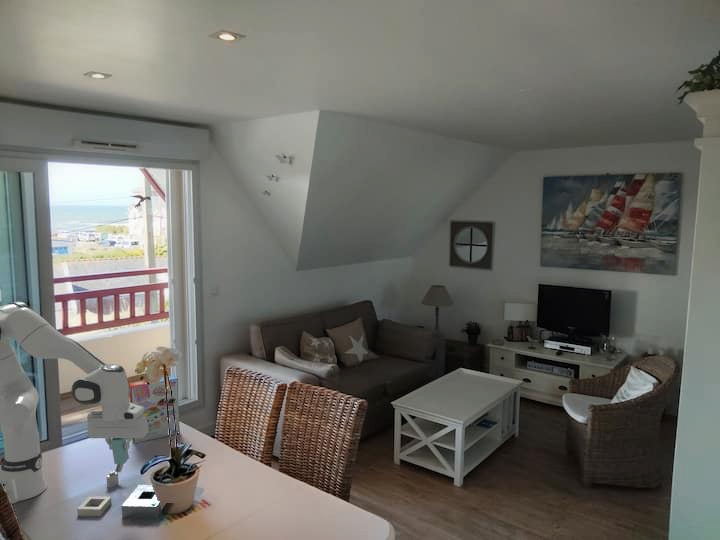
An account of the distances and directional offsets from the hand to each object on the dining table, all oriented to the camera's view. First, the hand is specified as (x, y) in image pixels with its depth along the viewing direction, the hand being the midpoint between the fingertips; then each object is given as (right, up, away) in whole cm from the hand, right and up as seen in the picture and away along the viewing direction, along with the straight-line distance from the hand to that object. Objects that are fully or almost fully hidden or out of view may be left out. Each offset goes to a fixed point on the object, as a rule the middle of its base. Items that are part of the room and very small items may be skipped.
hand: (119, 448), depth 184 cm
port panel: (+8, -22, +4) cm, 24 cm away
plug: (0, -5, +1) cm, 5 cm away
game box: (-11, -16, +62) cm, 65 cm away
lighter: (-11, -20, +20) cm, 31 cm away
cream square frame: (-10, -22, +3) cm, 25 cm away
